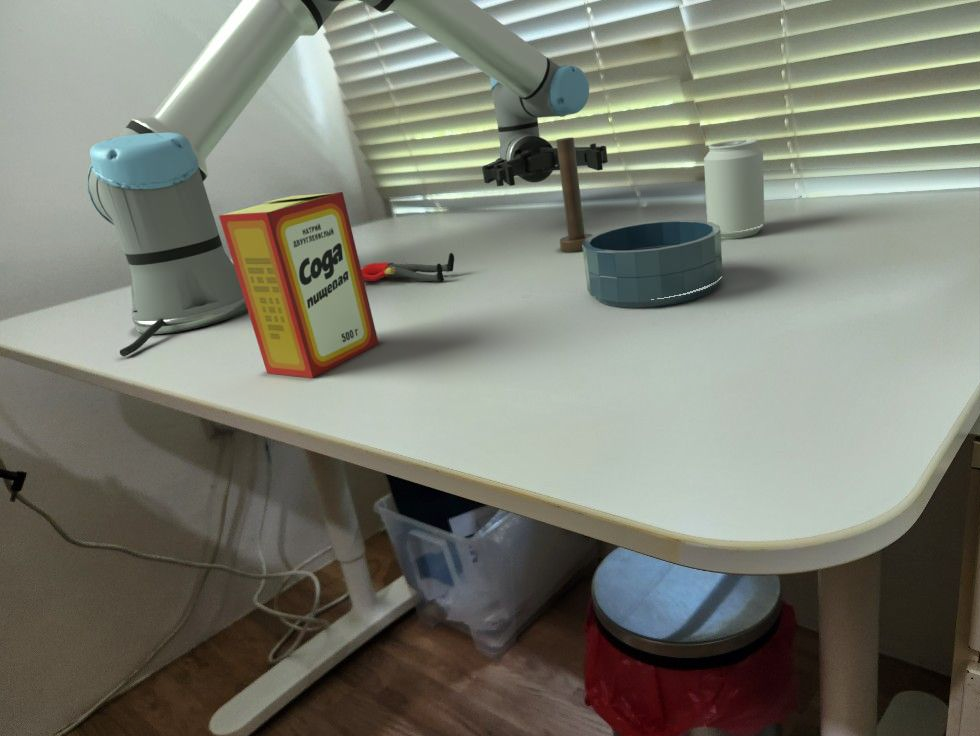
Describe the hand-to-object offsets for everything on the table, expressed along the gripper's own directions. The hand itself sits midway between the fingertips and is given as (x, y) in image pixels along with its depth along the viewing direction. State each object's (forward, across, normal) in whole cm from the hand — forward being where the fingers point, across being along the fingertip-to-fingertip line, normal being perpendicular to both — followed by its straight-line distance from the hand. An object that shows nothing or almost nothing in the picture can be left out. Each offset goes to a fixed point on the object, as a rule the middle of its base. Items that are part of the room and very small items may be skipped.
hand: (555, 168), depth 112 cm
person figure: (+8, +27, -10) cm, 30 cm away
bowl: (+37, -2, -10) cm, 38 cm away
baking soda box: (+39, +34, -10) cm, 53 cm away
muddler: (+9, 0, -10) cm, 14 cm away
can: (+18, -20, -11) cm, 29 cm away
